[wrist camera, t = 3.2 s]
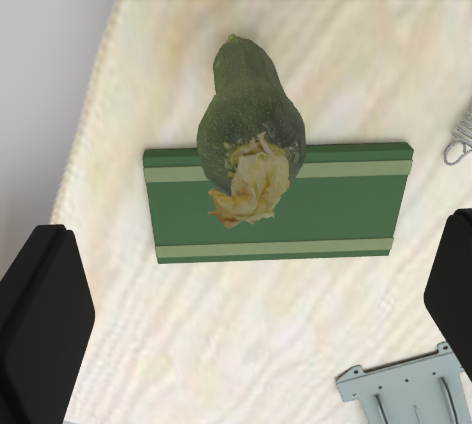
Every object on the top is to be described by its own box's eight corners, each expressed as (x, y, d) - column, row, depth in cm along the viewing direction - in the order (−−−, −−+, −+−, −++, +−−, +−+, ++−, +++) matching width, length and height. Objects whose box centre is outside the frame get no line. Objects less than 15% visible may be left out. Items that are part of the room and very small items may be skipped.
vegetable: (282, 63, 28) (384, 236, 11) (238, 109, 29) (270, 322, 13) (234, 14, 26) (270, 131, 9) (191, 66, 28) (153, 246, 11)
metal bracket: (503, 451, 46) (371, 481, 48) (477, 411, 51) (360, 440, 54) (477, 347, 42) (335, 384, 44) (451, 316, 47) (327, 351, 50)
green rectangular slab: (144, 149, 31) (141, 158, 29) (407, 142, 31) (415, 150, 30) (159, 254, 36) (157, 265, 35) (383, 246, 37) (389, 256, 35)
